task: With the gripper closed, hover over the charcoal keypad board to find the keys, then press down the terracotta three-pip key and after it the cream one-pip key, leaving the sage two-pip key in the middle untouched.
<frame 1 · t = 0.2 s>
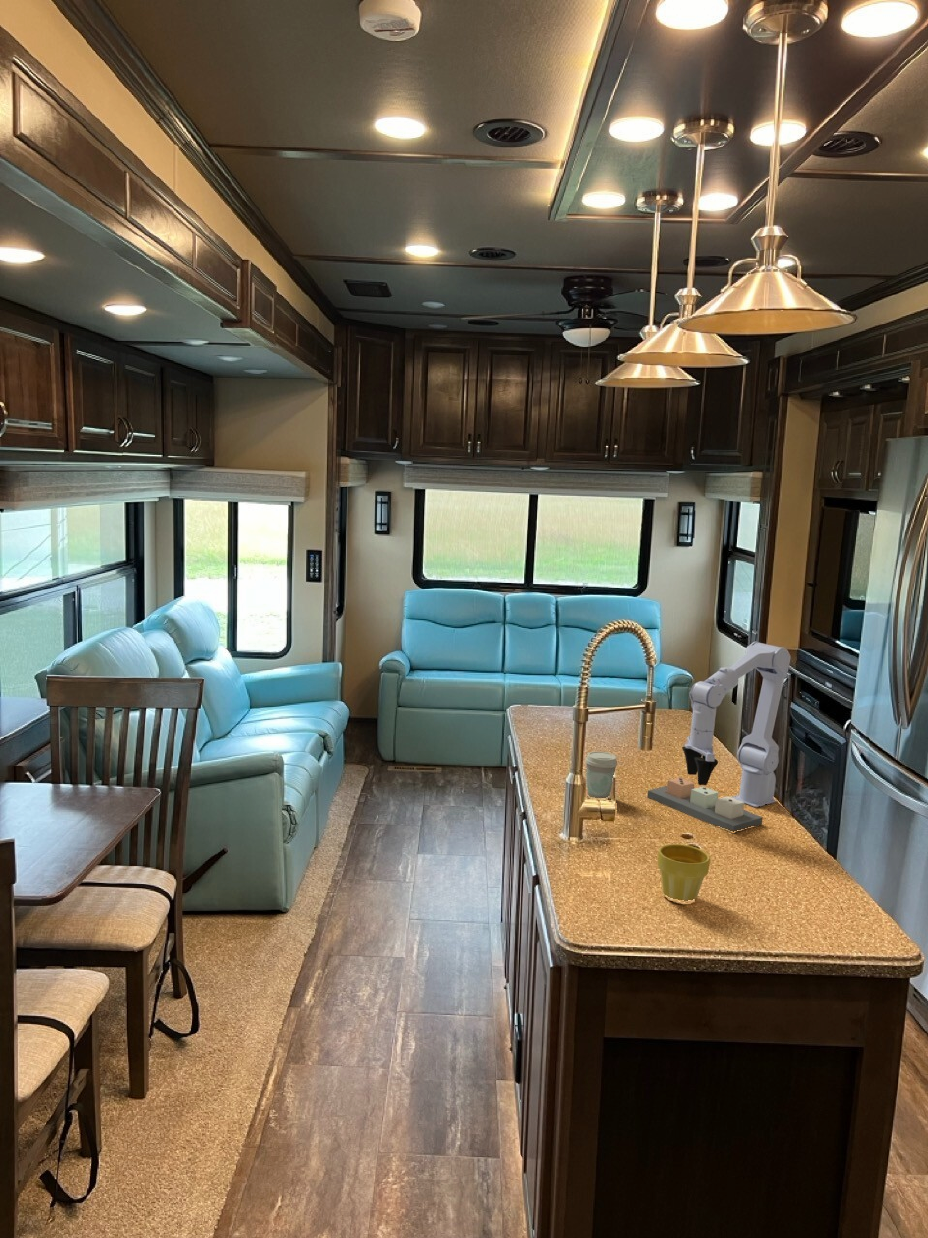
hand: (697, 779, 233), 10 cm above the table, tool pointing down, fingers open, 7 cm apart
key two: (704, 797, 238), point 4 cm above the table, slide at 0.0 cm
key one: (729, 807, 232), point 4 cm above the table, slide at 0.0 cm
key three: (680, 788, 245), point 4 cm above the table, slide at 0.0 cm
coffee cup: (597, 799, 243), on the table
keypad board: (702, 810, 239), on the table
plant pot: (679, 898, 188), on the table
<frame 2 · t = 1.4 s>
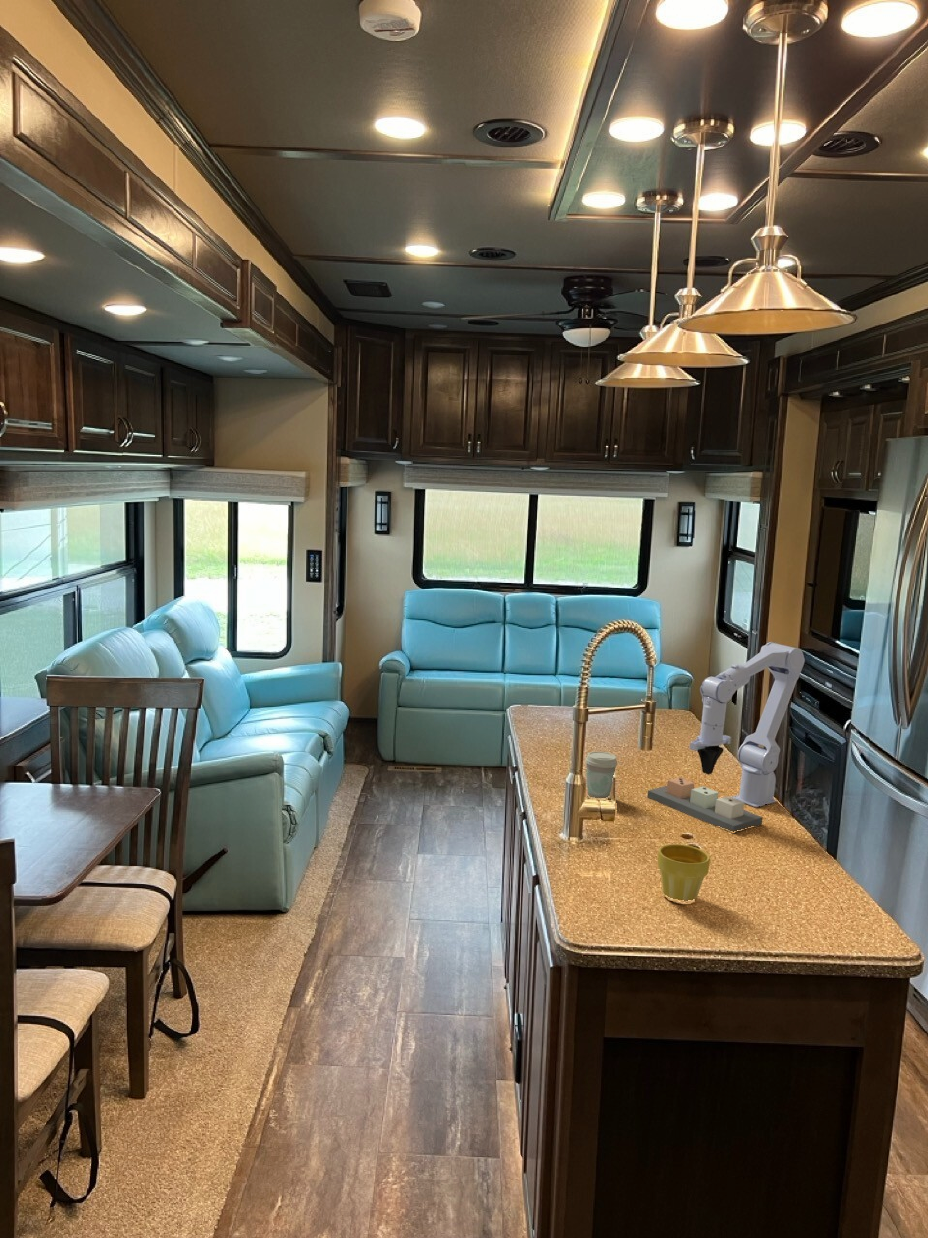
hand: (707, 773, 237), 10 cm above the table, tool pointing down, fingers closed
nothing on the table moved.
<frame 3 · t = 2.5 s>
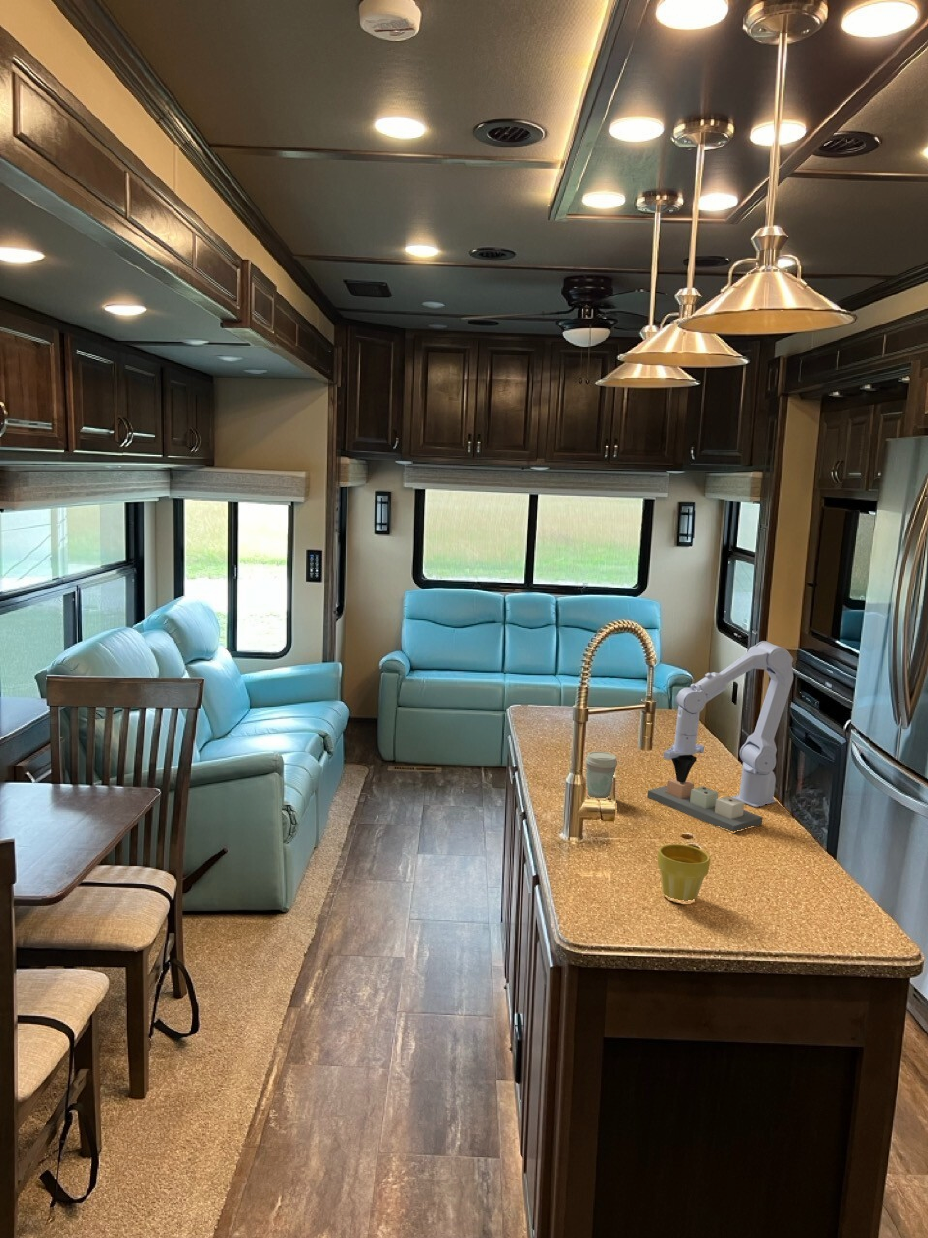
hand: (680, 781, 244), 6 cm above the table, tool pointing down, fingers closed, pressing on key three
key three: (680, 788, 245), point 4 cm above the table, slide at 0.1 cm, touching gripper
everything else where it was.
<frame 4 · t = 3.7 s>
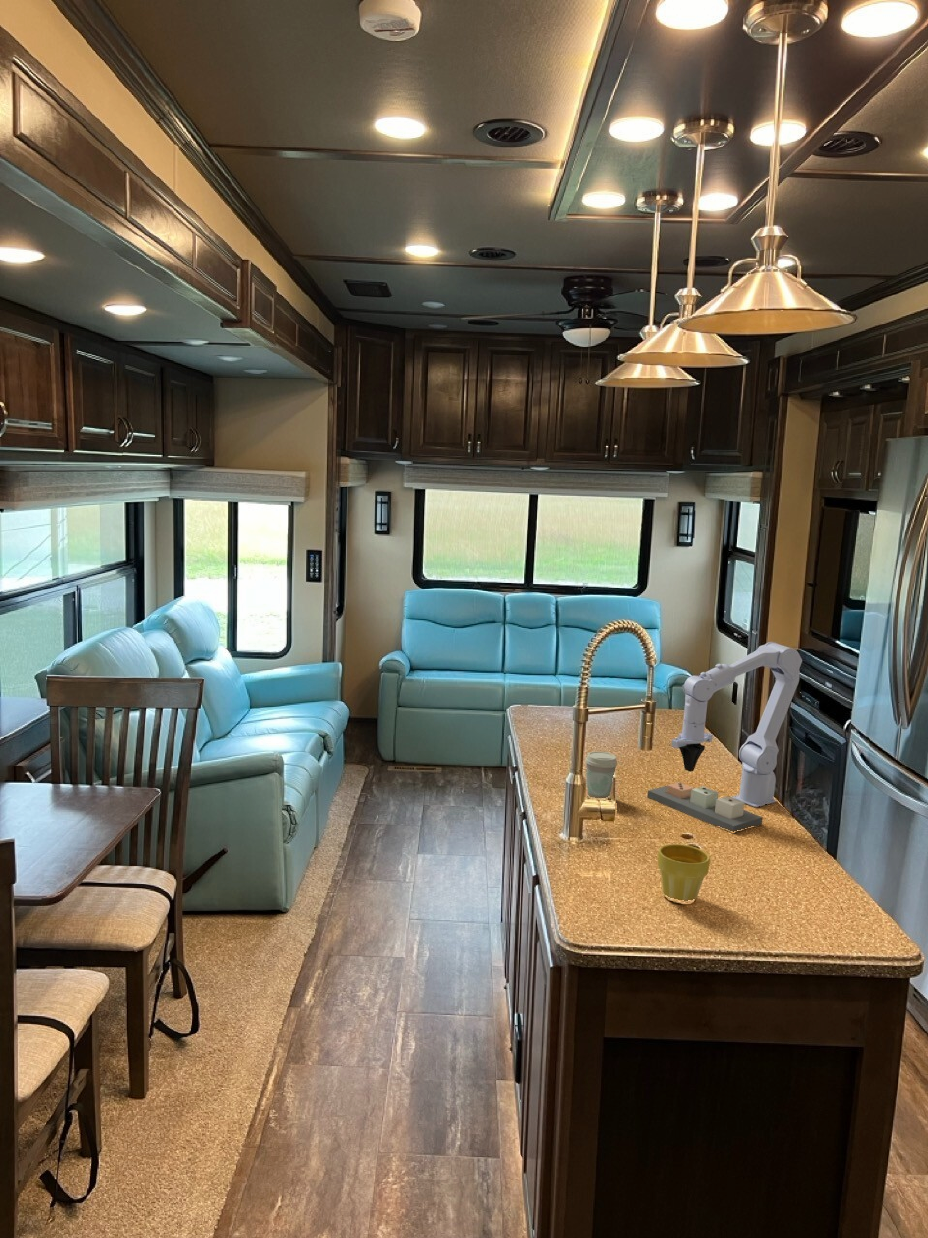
hand: (689, 770, 242), 9 cm above the table, tool pointing down, fingers closed
key three: (679, 793, 245), point 2 cm above the table, slide at 1.4 cm
everything else where it was.
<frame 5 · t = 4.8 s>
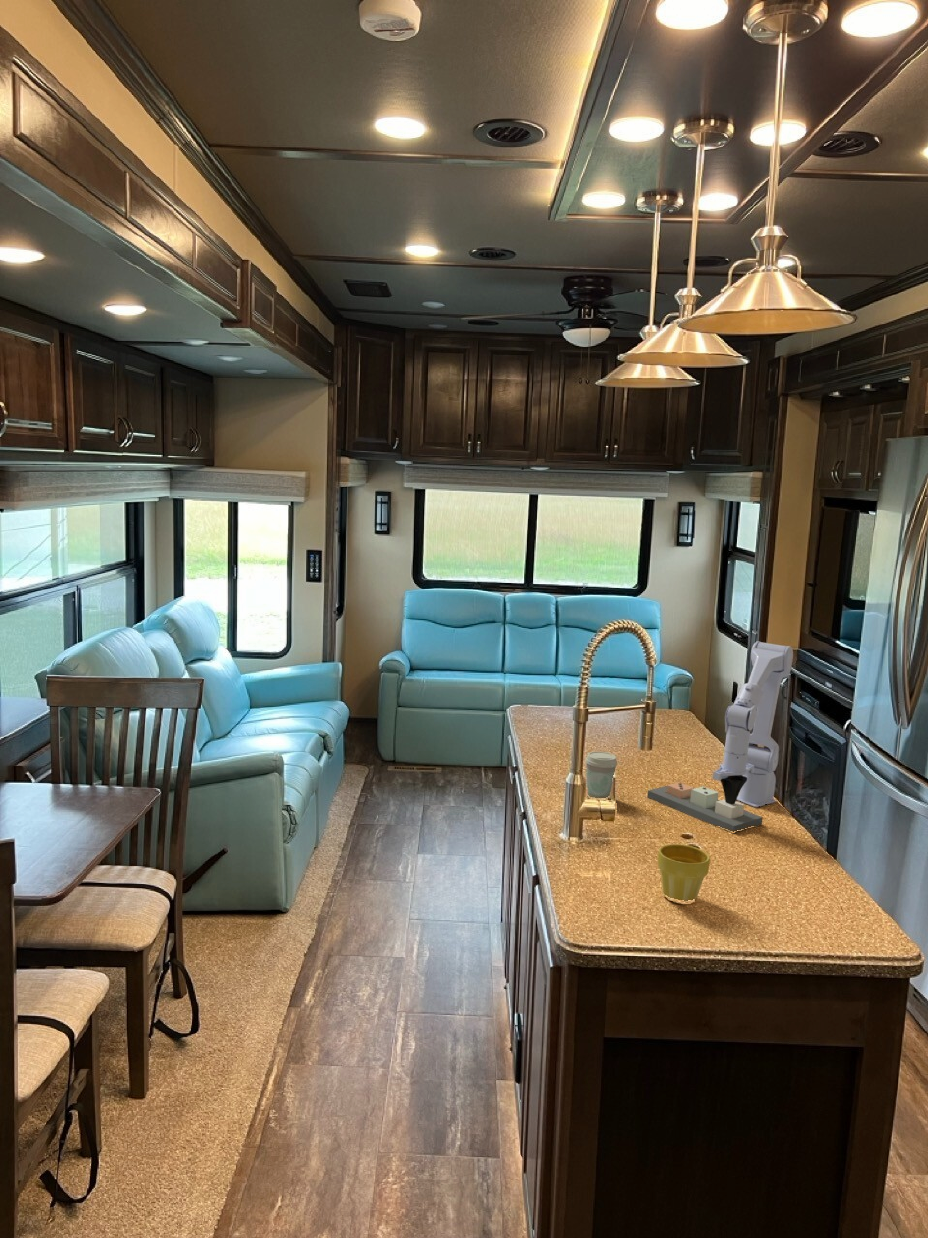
hand: (730, 802, 232), 5 cm above the table, tool pointing down, fingers closed, pressing on key one
key one: (729, 810, 232), point 3 cm above the table, slide at 0.7 cm, touching gripper
everything else where it was.
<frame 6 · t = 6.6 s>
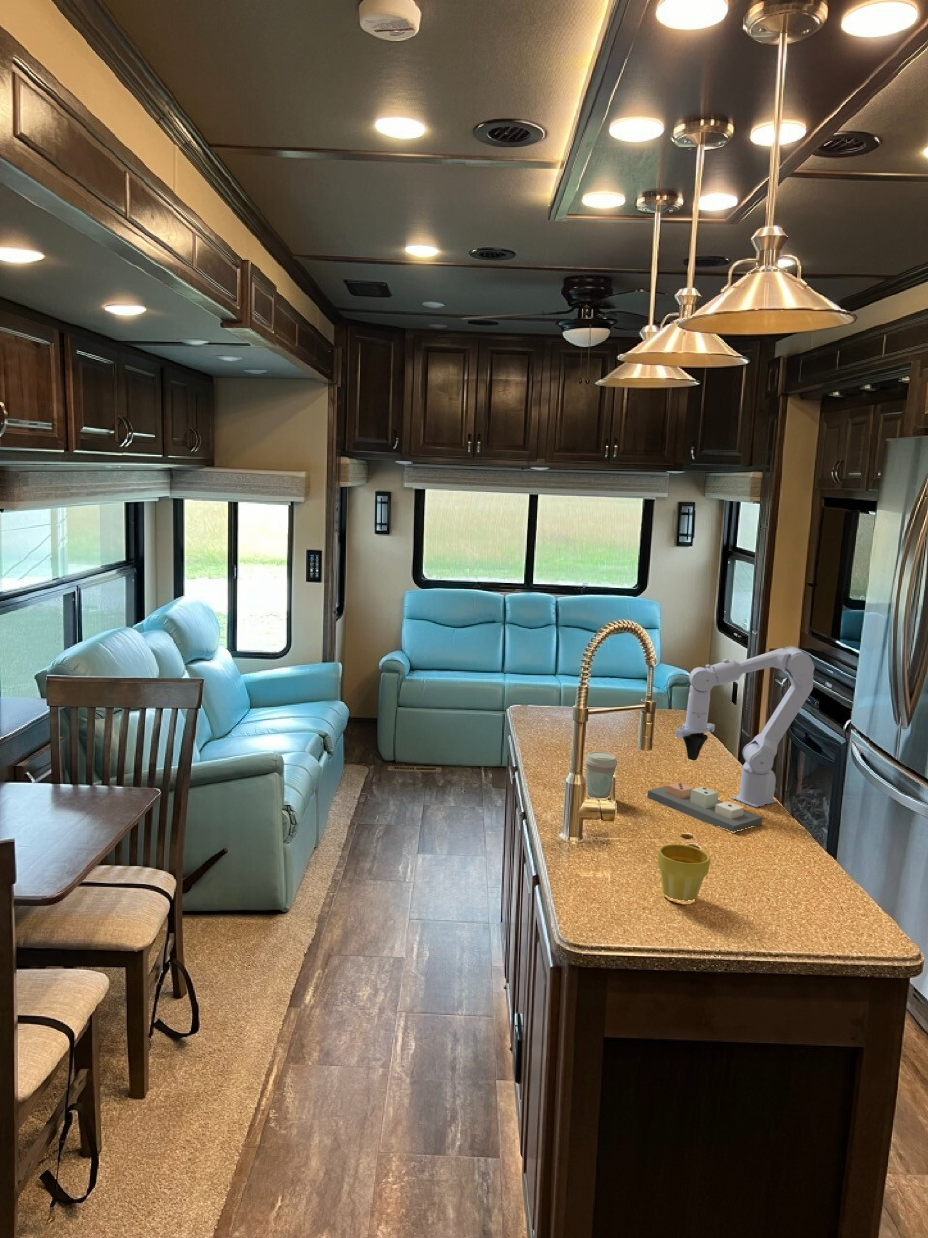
hand: (692, 759, 249), 10 cm above the table, tool pointing down, fingers closed
key one: (728, 813, 232), point 2 cm above the table, slide at 1.4 cm
everything else where it was.
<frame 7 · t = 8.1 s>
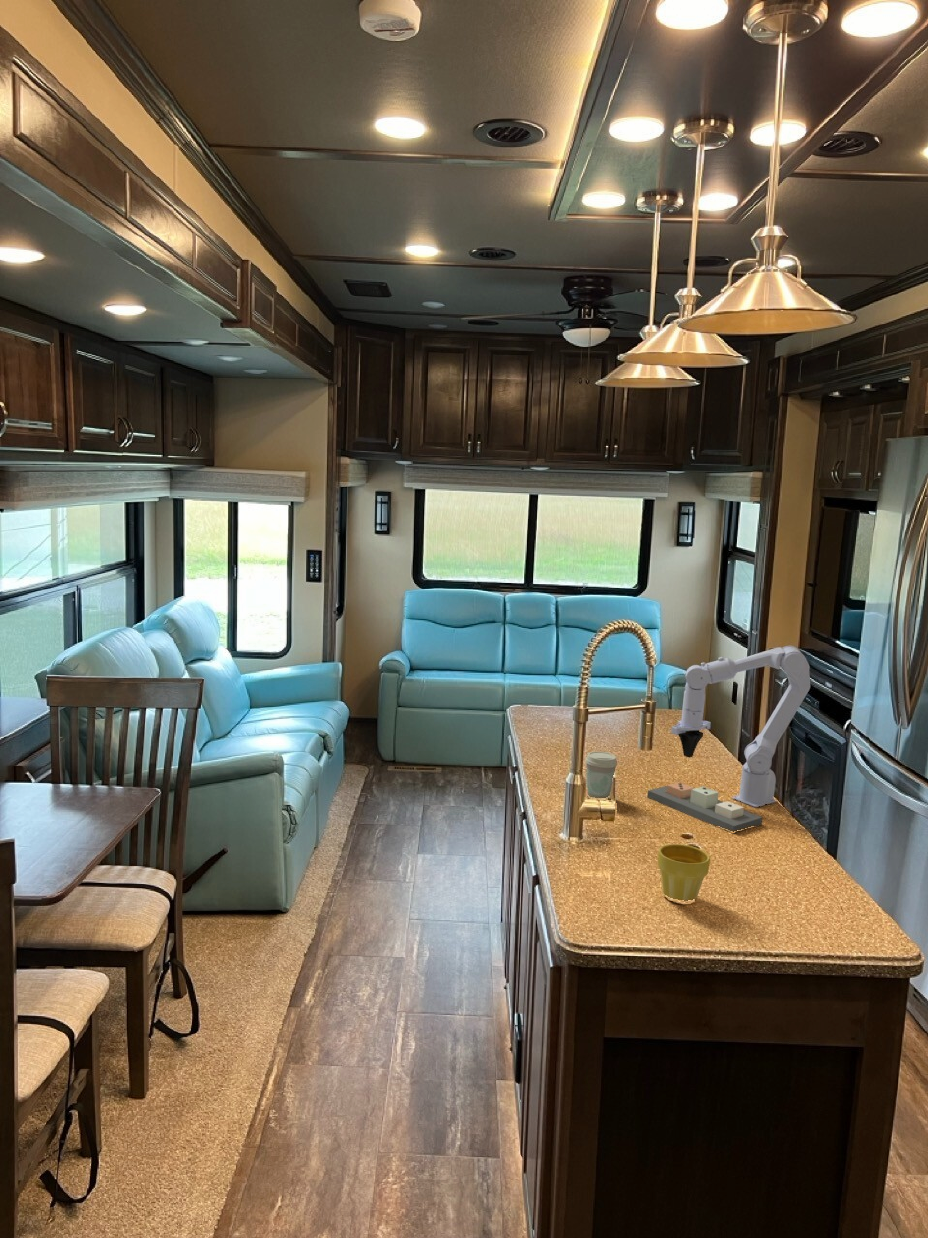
hand: (687, 756, 251), 10 cm above the table, tool pointing down, fingers closed
nothing on the table moved.
at the end: key three slide at 1.4 cm; key one slide at 1.4 cm; key two slide at 0.0 cm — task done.
